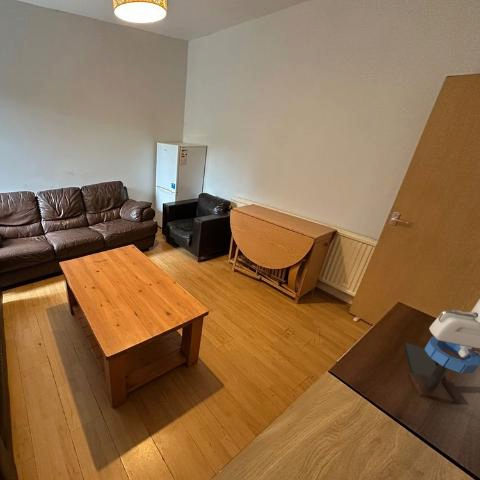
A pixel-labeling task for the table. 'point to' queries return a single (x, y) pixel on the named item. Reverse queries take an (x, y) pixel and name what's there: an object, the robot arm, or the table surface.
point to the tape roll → (448, 361)
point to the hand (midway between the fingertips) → (470, 357)
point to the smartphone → (419, 360)
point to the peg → (431, 385)
